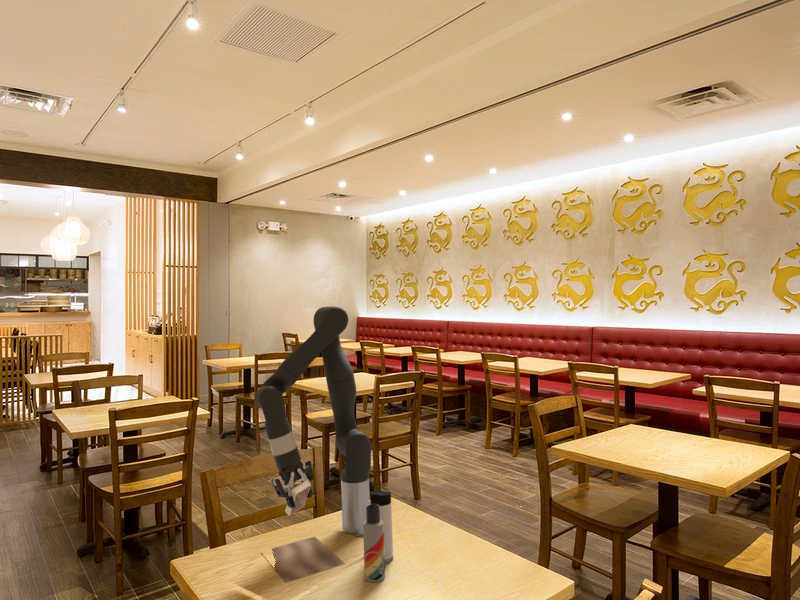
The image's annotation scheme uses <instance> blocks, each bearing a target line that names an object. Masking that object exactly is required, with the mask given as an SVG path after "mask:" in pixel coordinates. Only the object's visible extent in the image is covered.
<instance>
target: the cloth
mask: <svg viewBox="0 0 800 600" xmlns="http://www.w3.org/2000/svg"><path fill="white" fill-rule="evenodd" d="M271 549H272V551H273V552H274V553H273V552H272V553H273V556H274V559H275V558H276V559H275V560H276V561H275V562H276V563H275V565H274V566H275V567H274V568H275V569H273V570H274V571H275V572H276V574H277V575H278V576H279V577H280V578H281V580H282V581H283V582H284V583H289V582H292V581H296V580H298V579H302V578H305V577H308V576H311V575H315V574H317V573H320V572H324V571H327V570H330V569H333V568H336V567H340V566H343V565H346V562H344V560H342V559H341V558H340V557H339V556H337V554H335V553H334V552H333V551H332V550H331V549H330V548H328V547H327V546H326V545H325V544H324V543H323V542H322V541H320V540H319V539H318V538H317V537H316V536H313V537H309V538H305V539H301V540H297V541H294V542H290V543H287V544H282V545H280V546H275V547H273V548H271Z"/></svg>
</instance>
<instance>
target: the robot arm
mask: <svg viewBox="0 0 800 600" xmlns="http://www.w3.org/2000/svg"><path fill="white" fill-rule="evenodd" d="M312 320H313V327H314V331H313V333H312V334H311V335H309V337H308V338H307V339H306V340H304V341H303V342H302V343H301V344H300V345H298V347H296V348H295V349H294V350H292V351H291V353H289V354H288V355H287V357H286V358H285V359H284V360H283V361H282V362H281V363H280V364H279V366H278V367H277V368H276V370H275V371H274V373H273V374H271V375H270V377H268V378H267V379H266V380H265V381H264V382H263V383H262V384H261V386H259V388H258V389H257V390H256V392H255V393H254V403H255V405H256V406H257V407H258V408H259V409H261V410H262V413H263V416H264V420H265V421H264V429H265V431H266V435H267V437H268V442H269V446H270V450H271V453H272V457H273V460H274V463H275V467H276V469H277V470H278V476H277V477H276V478H272V479H271V484H272V486H273V487H274V490H275V492H276V494H277V497H278V498H285V502H286V506H287V505H288V507H290V508H295V507H296V505H295V502H294V499H293V496H292V492H291V490H292V489H293V488H294V484H295V483H296V482H297V481H299V482H300V484H302V483H303V482H305V481H306V480H307V481H308V482H309V483H310V484H311V482H312V481H314V480H315V476H314V472H313V466H312V461H311V460H305V461H303V462H302V458H301V457H302V456H301V454H300V452H299V447H298V444H297V442H296V438H295V436H294V434H293V431H292V428H291V425H290V422H289V420H288V416H287V411H286V410H287V409H286V405H285V399H284V396H283V394H284V393H285V392H286V391H287V390H288V389H290V387H293V385H294V384H295V383H296V382H297V381H298V380H299V378H300V377H301V376H302V375H303V374H304V372H305V371H306V370H307V369H308V367H310V365H311V364H312V363H313V361H314V360H315V359H316V358H317V357H318V356H319V355H320V354H321V357H322V363H323V368H324V374H325V381H326V385H327V386H326V387H327V391H328V396H329V400H330V406H331V410H332V415H333V420H334V421H333V422H334V429H335V443H336V448H337V449H338V452H339V453H340V454H341V455H342V456H345V462H344V463H345V465H344V466H345V468H343V469H342V470H341V472H340V485H341V517H342V520H341V521H342V523H341V524H342V525H341V526H342V533H345V534H348V535H351V536H354V537H360V536H363V523H364V521H366V506H368V505H370V472H371V470H372V469H371V468H372V444H371V439H370V437H369V436H368V435H367V434H366V433H364V432H363V431H359V429H358V426H357V422H356V417H355V405H356V404H355V403H356V398H357V385H356V379H355V378H356V377H355V373H354V370H353V367H352V365H351V363H350V361H349V359H348V357H347V356H346V354H345V352H344V350H343V348H342V344H341V340H340V335H341V334H342V333H343V332H344V331H345V330H346V329H347V327H348V324H349V315H348V312H347V310H345V309H344V308H343V307H341V306H340V307H339V306H334V305H333V306H332V305H331V306H322V307H319V308H318V309H317V310H316V311H315V313H314V315H313V319H312ZM303 471H304V472H303ZM282 481H283V482H282ZM312 497H313V491H312V486H311V487H310V490H309V492H308V495H307V499H309V498H312Z"/></svg>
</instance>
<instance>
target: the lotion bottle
mask: <svg viewBox="0 0 800 600" xmlns="http://www.w3.org/2000/svg"><path fill="white" fill-rule="evenodd" d="M362 537H363V566H364V570H363V571H364V579H365V581H367V582H369V583H379V582H382V581H383V580H384V579H385V577H386V563H385V549H384V523H383V521H382V520H380V505H379V504H377V503H374V504H370V505H368V506H366V521H364V523H363V535H362Z"/></svg>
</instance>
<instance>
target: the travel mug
mask: <svg viewBox="0 0 800 600" xmlns="http://www.w3.org/2000/svg"><path fill="white" fill-rule="evenodd" d="M369 499H370V504H374V503H377V504H379V505H380V520H382V521H383V523H384V549H385V564H387V563H390V562H392V561H393V559H394V546H393V512H392V511H393V510H392V508H393V506H392V505H393V504H392V492H390V491H384V490H381V489H380V490H379V489H378V490H372V491H369Z"/></svg>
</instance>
